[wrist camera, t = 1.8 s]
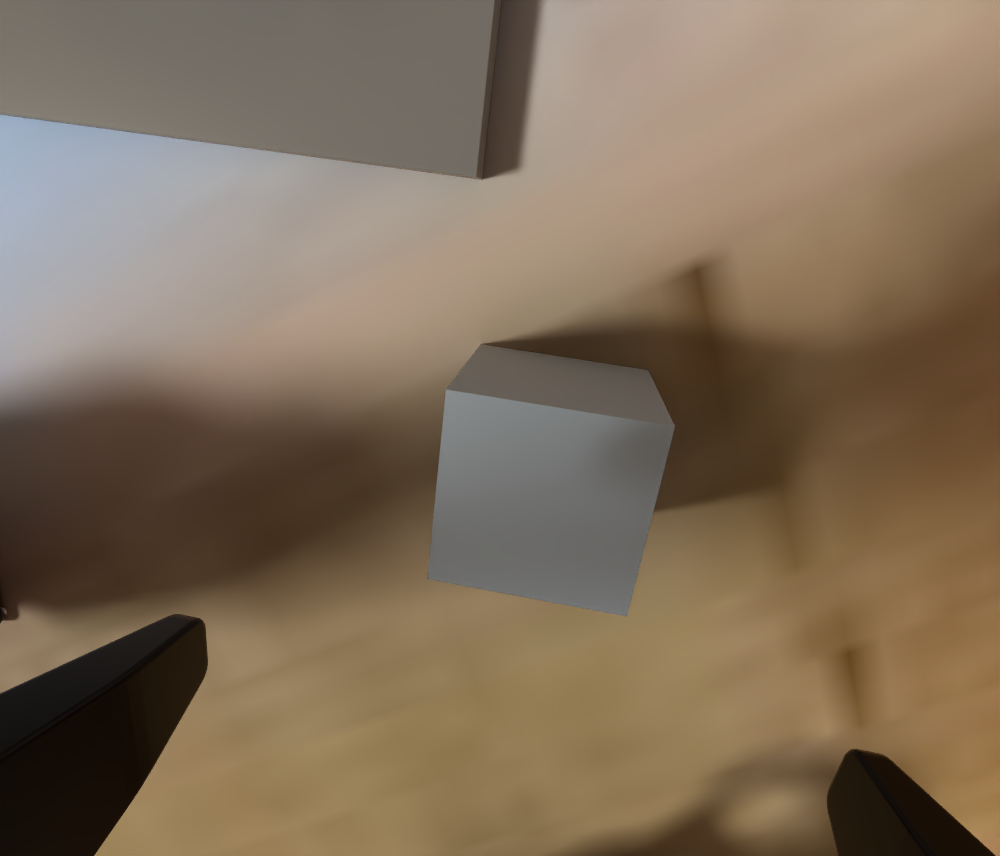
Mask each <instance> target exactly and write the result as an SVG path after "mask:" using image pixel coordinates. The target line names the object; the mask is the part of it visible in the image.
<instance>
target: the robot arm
mask: <svg viewBox="0 0 1000 856" xmlns="http://www.w3.org/2000/svg"><path fill="white" fill-rule="evenodd" d="M1 621H2V617H1V612H0V623H1ZM207 666H208V656H207V641H206V628H205V624H204V622H203V620H201V619H200V618H196V617H191V616H186V615H181V614H174V615H170V616H168V617H165V618H163V619H161V620H159V621H157V622H155V623H152V624H150V625H148V626H146V627H144V628H141V629H139V630H137V631H135V632H133V633H131V634H128V635H126V636H124V637H122V638H120V639H118V640H115V641H113V642H111V643H109V644H107V645H105V646H102V647H100V648H98V649H96V650H94V651H92V652H89V653H87V654H85V655H83V656H81V657H79V658H76V659H74V660H72V661H70V662H68V663H66V664H63V665H61V666H59V667H57V668H55V669H53V670H50V671H48V672H46V673H44V674H42V675H40V676H37V677H35V678H33V679H31V680H29V681H27V682H24V683H22V684H20V685H18V686H16V687H14V688H11V689H9V690H7V691H5V692H3V693H0V856H94V855H95V854H96V852H97V851H98V849H99V848H100V846H101V845H102V844H103V842H104V841H105V839H106V838H107V836H108V835H109V834H110V832H111V831H112V829H113V828H114V826H115V825H116V823H117V822H118V821H119V819H120V818H121V816H122V815H123V813H124V812H125V811H126V809H127V808H128V806H129V805H130V803H131V802H132V800H133V799H134V797H135V796H136V794H137V793H138V791H139V790H140V788H141V787H142V785H143V784H144V782H145V780H146V779H147V777H148V775H149V774H150V772H151V770H152V769H153V767H154V765H155V763H156V762H157V760H158V758H159V756H160V755H161V753H162V751H163V749H164V748H165V746H166V744H167V742H168V741H169V739H170V737H171V735H172V734H173V732H174V730H175V728H176V727H177V725H178V723H179V721H180V720H181V718H182V716H183V714H184V713H185V711H186V709H187V707H188V706H189V704H190V702H191V700H192V699H193V697H194V695H195V693H196V692H197V690H198V688H199V686H200V685H201V683H202V681H203V679H204V677H205V674H206V671H207ZM827 808H828V814H829V818H830V822H831V826H832V831H833V835H834V839H835V843H836V847H837V852H838V856H995V855H994V854H993V853H992V852H991V851H990V850H989V849H988V848H987V847H986V846H984V845H983V844H982V843H981V842H980V841H979V840H978V839H977V838H976V837H975V836H974V835H972V834H971V833H970V832H969V831H968V830H967V829H966V828H965V827H964V826H963V825H961V824H960V823H959V822H958V821H957V820H956V819H955V818H954V817H953V816H952V815H951V814H949V813H948V812H947V811H946V810H945V809H944V808H943V807H942V806H941V805H940V804H939V803H937V802H936V801H935V800H934V799H933V798H932V797H931V796H930V795H929V794H928V793H926V792H925V791H924V790H923V789H922V788H921V787H920V786H919V785H918V784H917V783H916V782H914V781H913V780H912V779H911V778H910V777H909V776H908V775H907V774H906V773H905V772H903V771H902V770H901V769H900V768H899V767H898V766H897V765H896V764H895V763H894V762H893V761H891V760H890V759H889V758H888V757H886V756H884V755H882V754H879V753H874V752H869V751H864V750H859V749H851V750H850V751H848V752H847V753H846V754H845V756H844V758H843V760H842V762H841V764H840V766H839V769H838V771H837V773H836V775H835V777H834V779H833V781H832V783H831V785H830V787H829V790H828V795H827Z"/></svg>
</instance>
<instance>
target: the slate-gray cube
mask: <svg viewBox="0 0 1000 856" xmlns="http://www.w3.org/2000/svg"><path fill="white" fill-rule="evenodd" d="M674 429H675V425H674V423H673V421H672V419H671V417H670V415H669V413H668V411H667V409H666V406H665V404H664V402H663V400H662V398H661V396H660V394H659V392H658V390H657V388H656V385H655V383H654V381H653V379H652V377H651V375H650V373H649V371H648V370H644V369H638V368H631V367H625V366H619V365H612V364H606V363H599V362H593V361H586V360H580V359H573V358H567V357H561V356H554V355H548V354H541V353H535V352H528V351H522V350H515V349H509V348H503V347H496V346H490V345H483V344H481V345H480V346H479V347H478V349H477V350H476V351H475V353H474V354H473V355H472V356H471V358H470V359H469V360H468V362H467V363H466V364H465V366H464V367H463V368H462V369H461V371H460V372H459V373H458V375H457V376H456V377H455V378H454V380H453V381H452V382H451V384H450V385H449V386H448V387H447V389H446V394H445V404H444V414H443V424H442V434H441V445H440V455H439V465H438V475H437V485H436V496H435V506H434V516H433V526H432V536H431V547H430V557H429V567H428V577H427V579H430V580H435V581H440V582H446V583H451V584H457V585H462V586H467V587H473V588H478V589H483V590H489V591H494V592H499V593H505V594H510V595H515V596H521V597H526V598H531V599H537V600H542V601H547V602H553V603H558V604H563V605H569V606H574V607H579V608H585V609H590V610H595V611H601V612H606V613H611V614H617V615H622V616H627V614H628V610H629V606H630V602H631V598H632V594H633V590H634V586H635V582H636V578H637V574H638V570H639V566H640V563H641V559H642V555H643V551H644V547H645V543H646V539H647V535H648V531H649V527H650V523H651V519H652V515H653V511H654V508H655V504H656V500H657V496H658V492H659V488H660V484H661V480H662V476H663V472H664V468H665V464H666V460H667V456H668V453H669V449H670V445H671V441H672V437H673V433H674Z"/></svg>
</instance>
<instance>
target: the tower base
mask: <svg viewBox="0 0 1000 856" xmlns="http://www.w3.org/2000/svg"><path fill="white" fill-rule="evenodd" d="M501 1H502V0H0V115H8V116H15V117H23V118H30V119H37V120H45V121H52V122H60V123H67V124H74V125H82V126H89V127H97V128H104V129H111V130H119V131H126V132H134V133H141V134H148V135H156V136H163V137H171V138H178V139H185V140H193V141H200V142H208V143H215V144H222V145H230V146H237V147H245V148H252V149H259V150H267V151H274V152H282V153H289V154H296V155H304V156H311V157H319V158H326V159H333V160H341V161H348V162H356V163H363V164H370V165H378V166H385V167H392V168H400V169H407V170H415V171H422V172H429V173H437V174H444V175H452V176H459V177H466V178H474V179H481V180H482V177H483V167H484V158H485V149H486V140H487V130H488V121H489V112H490V103H491V94H492V84H493V75H494V66H495V57H496V47H497V38H498V29H499V20H500V11H501Z"/></svg>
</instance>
